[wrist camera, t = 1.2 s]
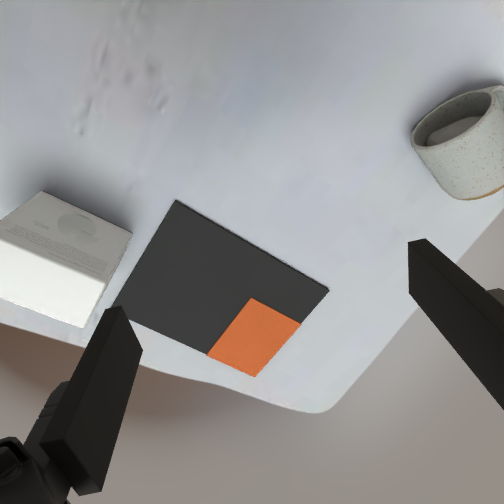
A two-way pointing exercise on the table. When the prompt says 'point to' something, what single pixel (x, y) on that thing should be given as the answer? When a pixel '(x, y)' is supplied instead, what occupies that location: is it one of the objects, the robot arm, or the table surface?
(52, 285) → the cosmetics box
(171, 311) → the corner mat
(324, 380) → the table surface
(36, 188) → the table surface
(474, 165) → the ceramic mug
